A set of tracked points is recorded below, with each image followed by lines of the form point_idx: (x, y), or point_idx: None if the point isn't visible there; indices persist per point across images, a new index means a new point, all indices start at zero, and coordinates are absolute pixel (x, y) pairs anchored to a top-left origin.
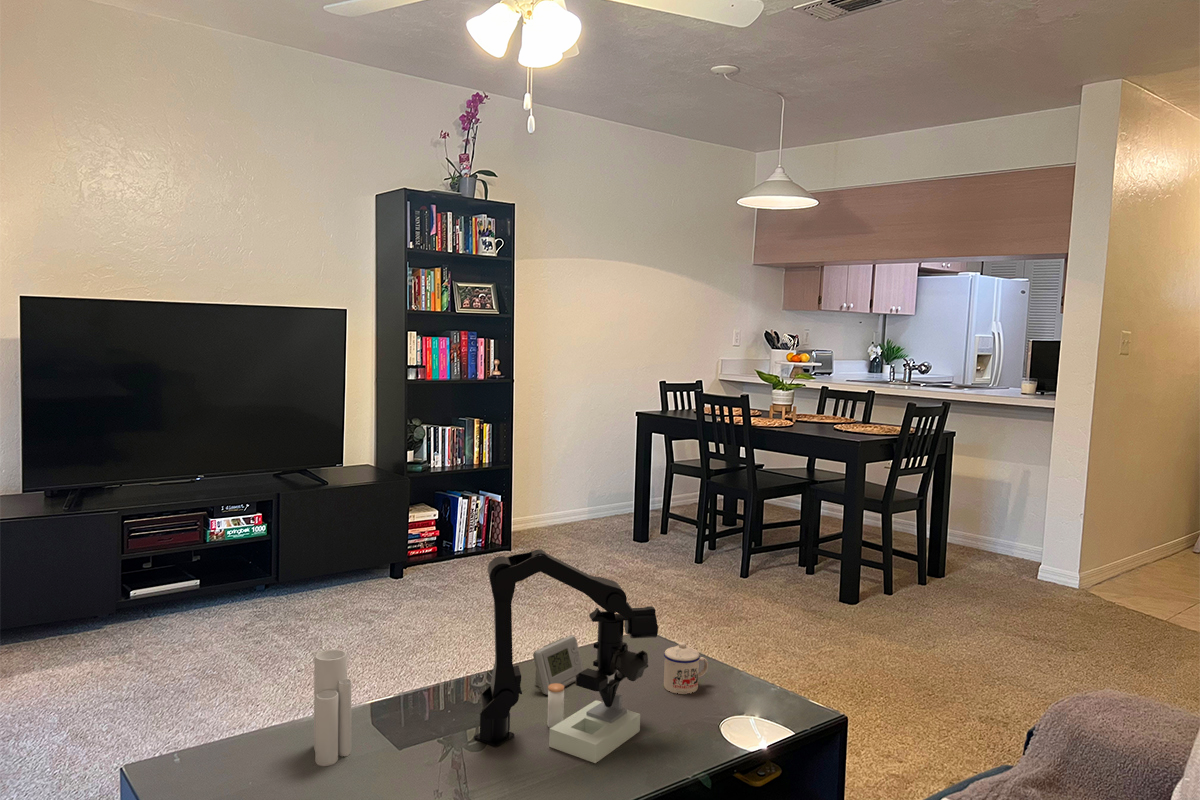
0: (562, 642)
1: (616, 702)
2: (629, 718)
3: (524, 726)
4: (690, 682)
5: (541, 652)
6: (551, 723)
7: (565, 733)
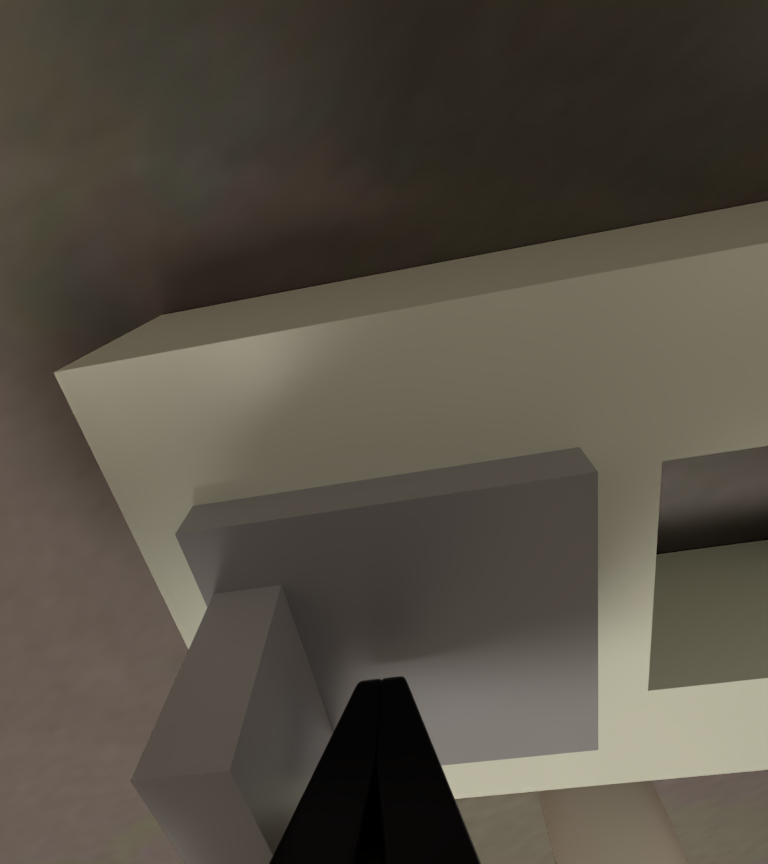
0: None
1: (273, 697)
2: (280, 382)
3: (705, 815)
4: None
5: None
6: None
7: None
